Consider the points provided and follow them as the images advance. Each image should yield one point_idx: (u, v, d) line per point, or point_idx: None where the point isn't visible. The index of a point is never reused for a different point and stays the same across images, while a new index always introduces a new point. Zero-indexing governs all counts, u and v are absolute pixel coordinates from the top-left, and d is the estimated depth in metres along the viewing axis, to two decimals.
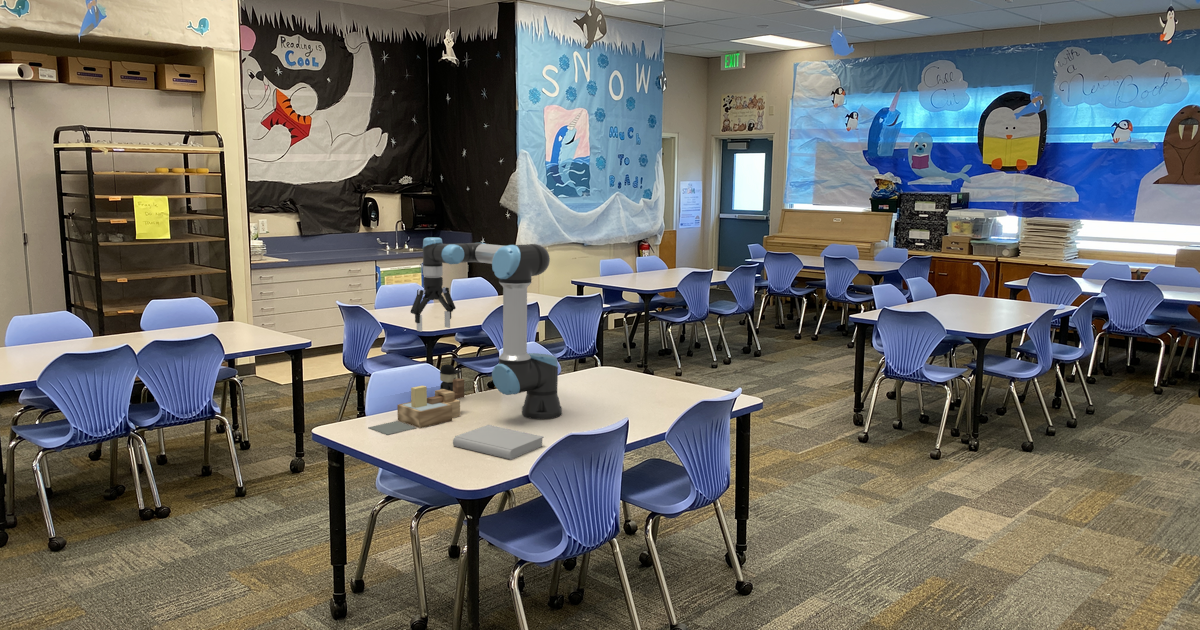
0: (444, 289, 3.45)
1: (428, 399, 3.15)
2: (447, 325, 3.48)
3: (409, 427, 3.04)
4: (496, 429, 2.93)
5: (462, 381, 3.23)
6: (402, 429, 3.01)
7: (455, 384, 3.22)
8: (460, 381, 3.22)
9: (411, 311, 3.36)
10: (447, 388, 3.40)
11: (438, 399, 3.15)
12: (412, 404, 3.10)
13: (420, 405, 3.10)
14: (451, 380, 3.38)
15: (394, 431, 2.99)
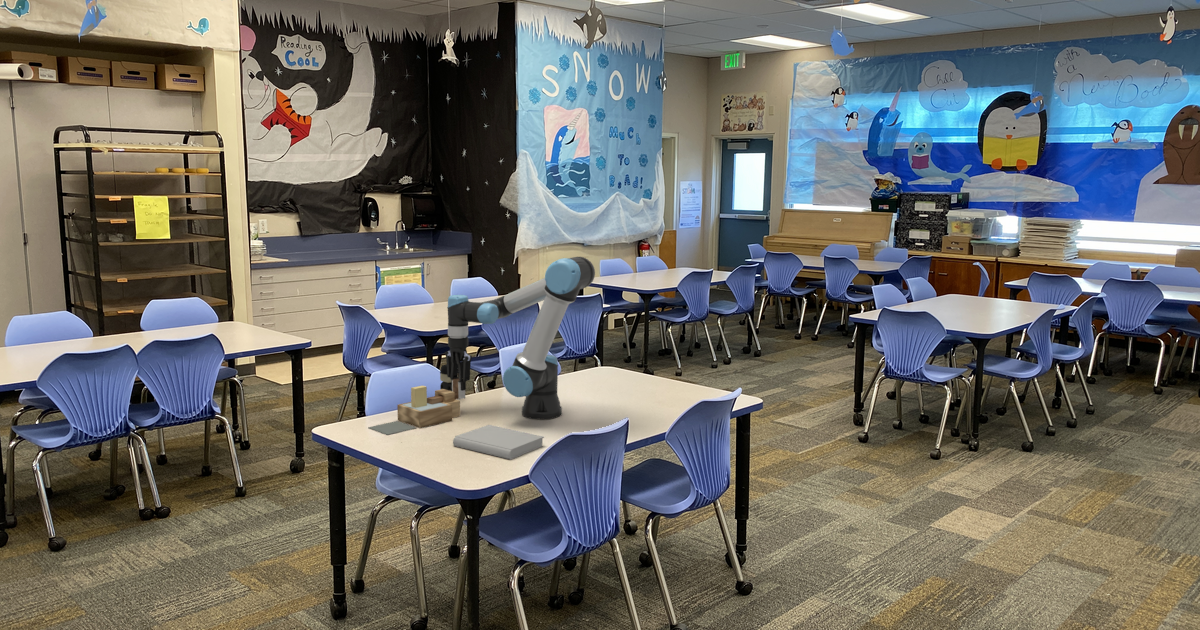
0: None
1: (428, 399, 3.15)
2: None
3: (409, 427, 3.04)
4: (496, 429, 2.93)
5: None
6: (402, 429, 3.01)
7: (455, 384, 3.22)
8: None
9: None
10: (447, 388, 3.40)
11: (438, 399, 3.15)
12: (412, 404, 3.10)
13: (420, 405, 3.10)
14: None
15: (394, 431, 2.99)
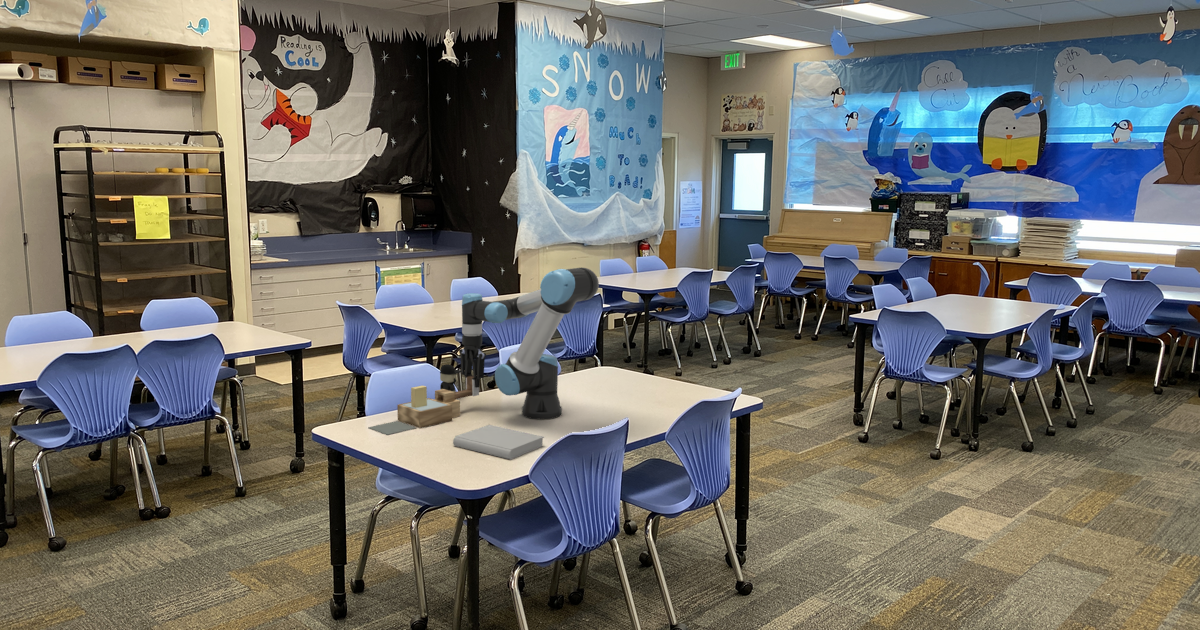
0: (479, 353, 3.23)
1: None
2: None
3: (409, 427, 3.04)
4: (496, 429, 2.93)
5: None
6: (402, 429, 3.01)
7: (469, 381, 3.27)
8: None
9: None
10: (447, 388, 3.40)
11: None
12: (412, 404, 3.10)
13: (420, 405, 3.10)
14: (451, 380, 3.38)
15: (394, 431, 2.99)
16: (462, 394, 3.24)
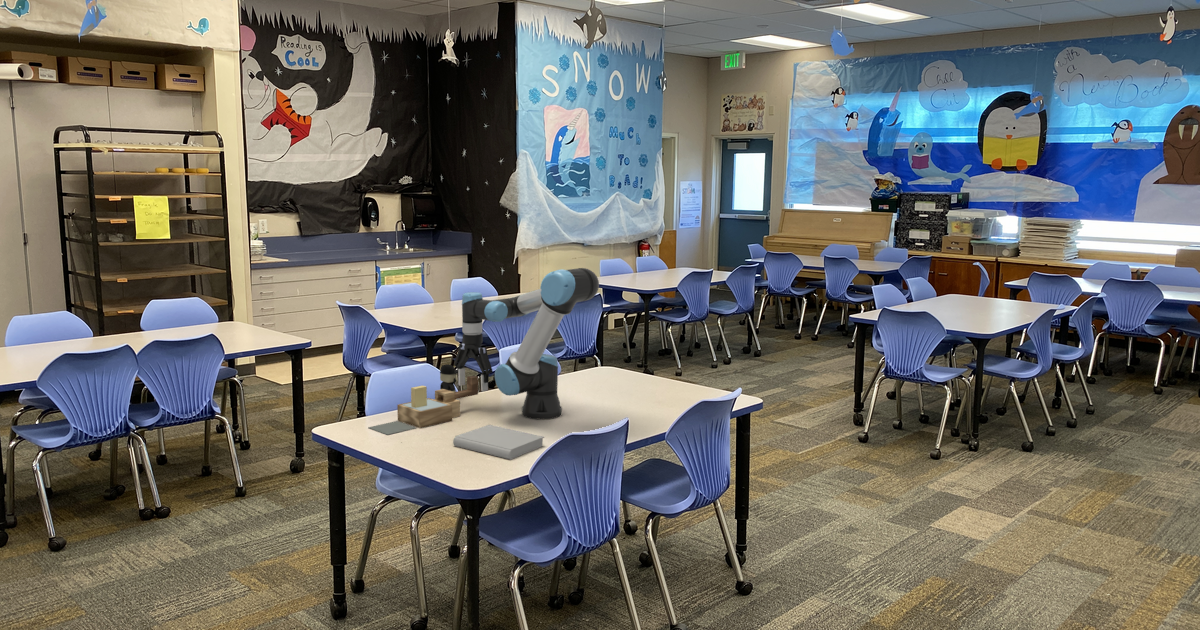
0: None
1: None
2: None
3: (409, 427, 3.04)
4: (496, 429, 2.93)
5: (476, 378, 3.28)
6: (402, 429, 3.01)
7: (469, 381, 3.27)
8: (474, 378, 3.27)
9: None
10: (447, 388, 3.40)
11: None
12: (412, 404, 3.10)
13: (420, 405, 3.10)
14: (451, 380, 3.38)
15: (394, 431, 2.99)
16: (462, 394, 3.24)
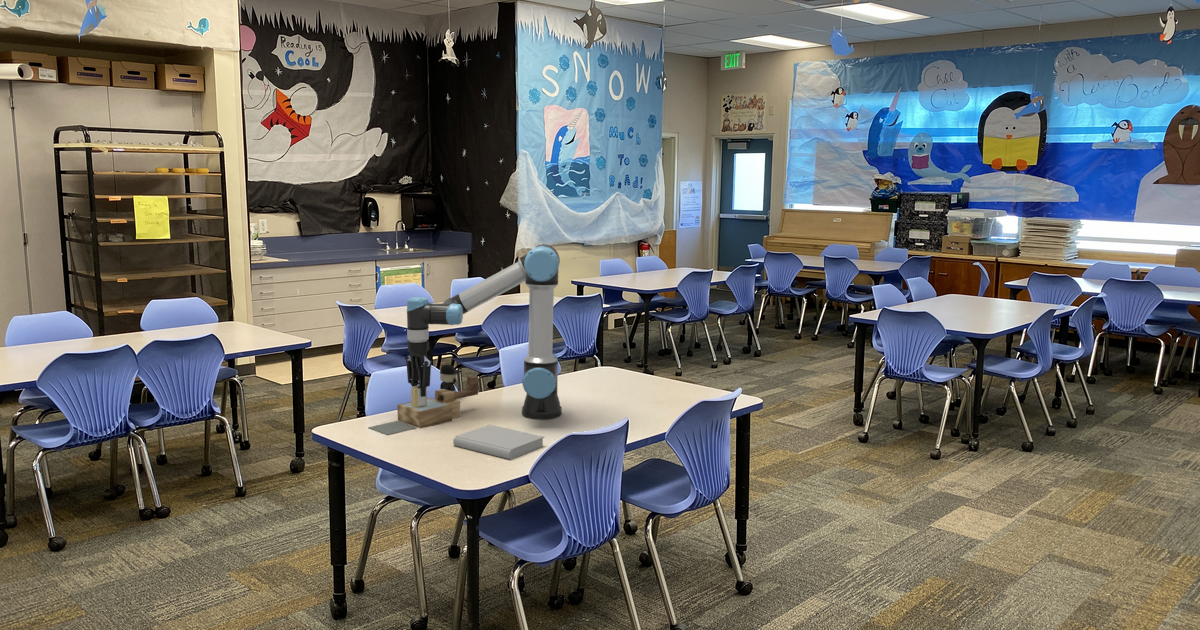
0: None
1: None
2: None
3: (409, 427, 3.04)
4: (496, 429, 2.93)
5: (476, 378, 3.28)
6: (402, 429, 3.01)
7: (469, 381, 3.27)
8: (474, 378, 3.27)
9: None
10: (447, 388, 3.40)
11: None
12: (412, 404, 3.10)
13: None
14: (451, 380, 3.38)
15: (394, 431, 2.99)
16: (462, 394, 3.24)
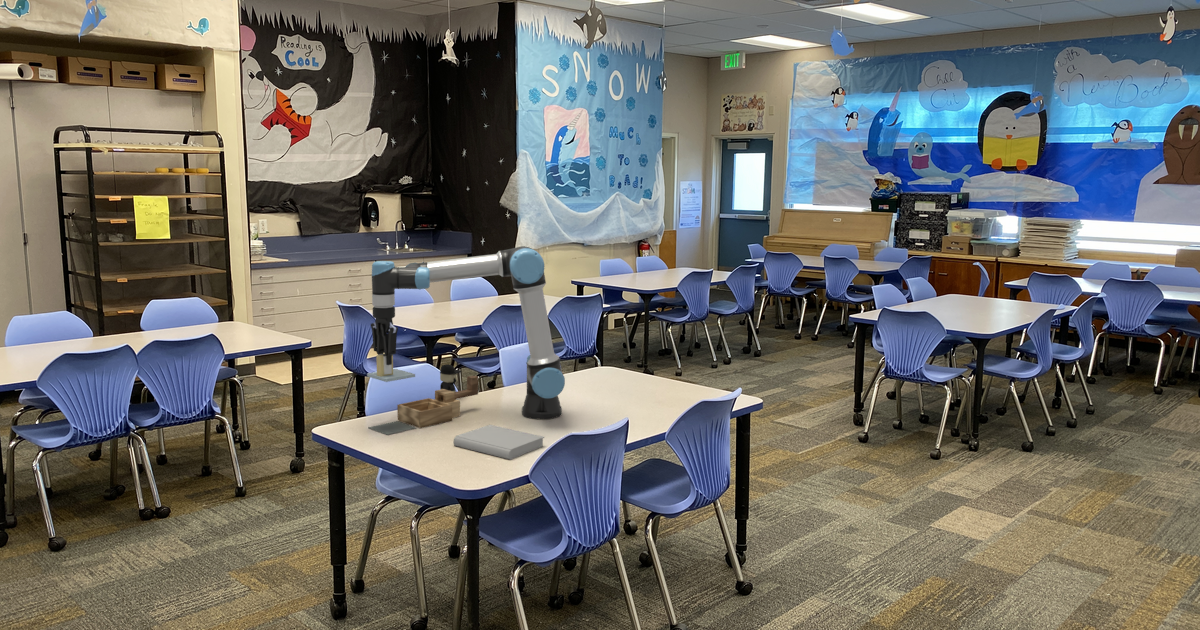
0: (391, 327, 2.93)
1: None
2: None
3: (409, 427, 3.04)
4: (497, 429, 2.93)
5: (476, 378, 3.28)
6: (402, 429, 3.01)
7: (469, 381, 3.27)
8: (474, 378, 3.27)
9: None
10: (447, 388, 3.40)
11: None
12: (377, 373, 2.97)
13: (386, 374, 2.98)
14: (451, 380, 3.38)
15: (394, 431, 2.99)
16: (462, 394, 3.24)
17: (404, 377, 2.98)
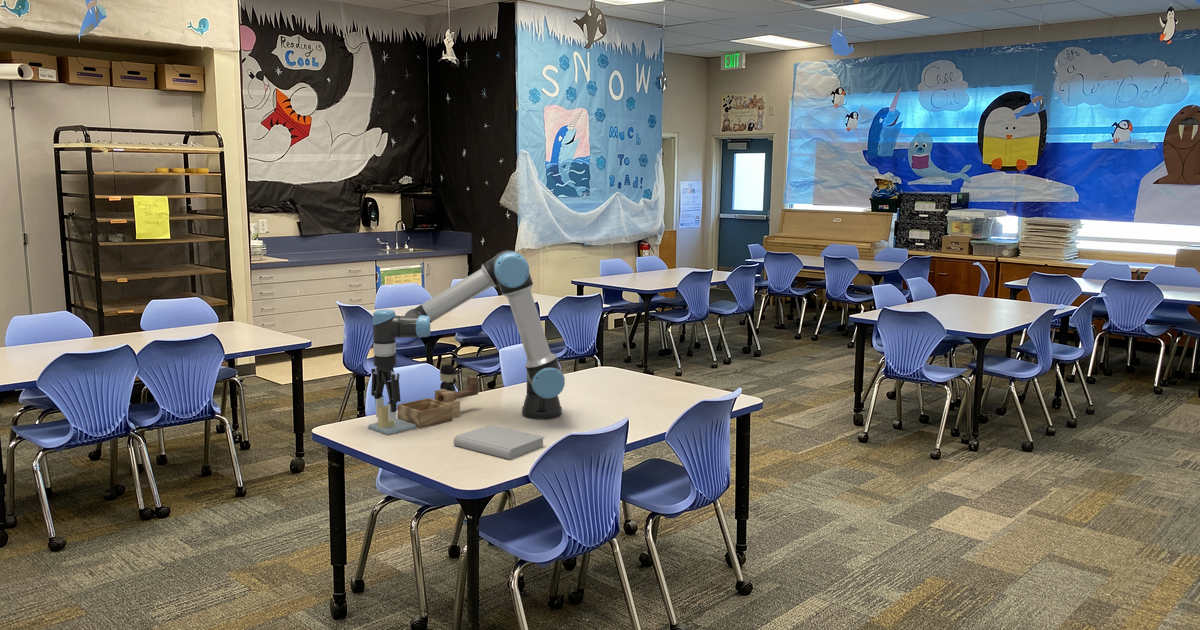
0: None
1: None
2: None
3: None
4: (497, 429, 2.93)
5: (476, 378, 3.28)
6: None
7: (469, 381, 3.27)
8: (474, 378, 3.27)
9: None
10: (447, 388, 3.40)
11: None
12: (379, 424, 3.00)
13: (387, 425, 3.00)
14: (451, 380, 3.38)
15: None
16: (462, 394, 3.24)
17: (405, 428, 3.01)
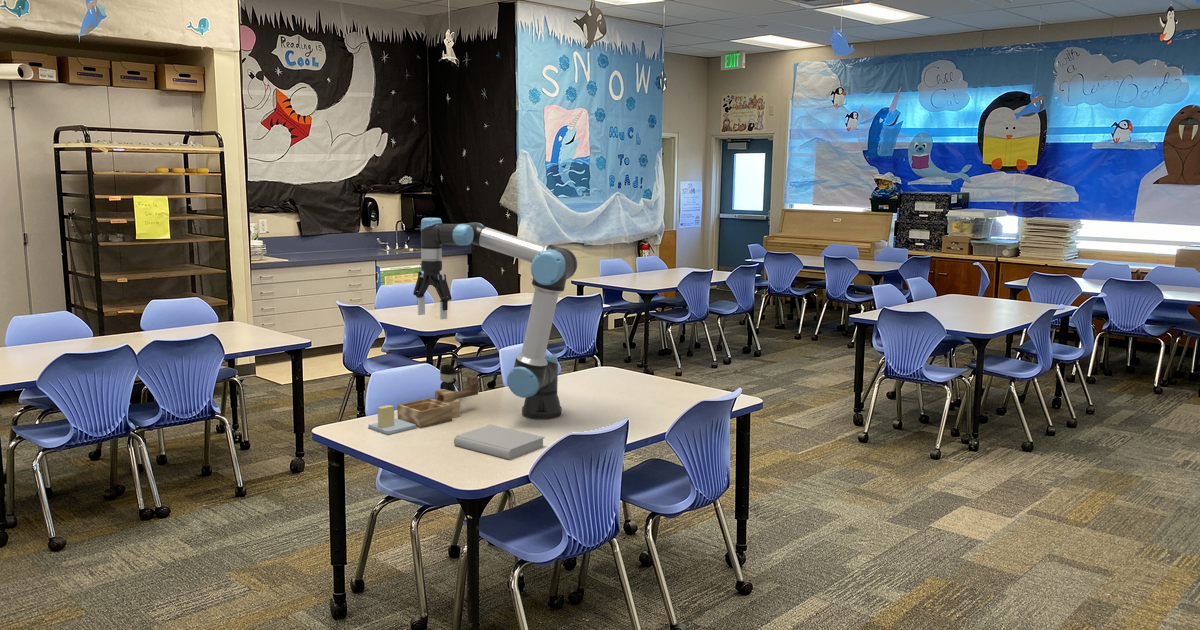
0: None
1: None
2: None
3: None
4: (497, 429, 2.93)
5: (476, 378, 3.28)
6: None
7: (469, 381, 3.27)
8: (474, 378, 3.27)
9: None
10: (447, 388, 3.40)
11: None
12: (379, 424, 3.00)
13: (387, 425, 3.00)
14: (451, 380, 3.38)
15: None
16: (462, 394, 3.24)
17: (405, 428, 3.01)
